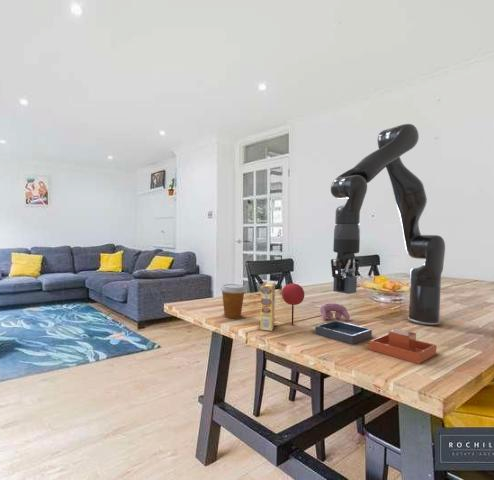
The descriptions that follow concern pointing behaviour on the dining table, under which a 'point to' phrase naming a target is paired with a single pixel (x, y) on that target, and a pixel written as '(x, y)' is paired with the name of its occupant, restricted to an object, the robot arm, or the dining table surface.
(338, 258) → the robot arm
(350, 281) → the slate block
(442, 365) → the dining table surface
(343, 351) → the dining table surface
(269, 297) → the candy box
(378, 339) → the terracotta tray
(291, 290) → the lollipop
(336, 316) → the toy elephant
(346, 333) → the slate tray
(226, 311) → the disposable coffee cup
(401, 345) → the terracotta block
